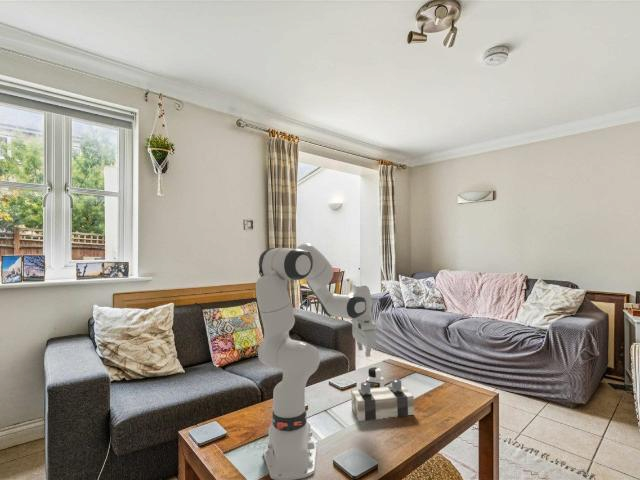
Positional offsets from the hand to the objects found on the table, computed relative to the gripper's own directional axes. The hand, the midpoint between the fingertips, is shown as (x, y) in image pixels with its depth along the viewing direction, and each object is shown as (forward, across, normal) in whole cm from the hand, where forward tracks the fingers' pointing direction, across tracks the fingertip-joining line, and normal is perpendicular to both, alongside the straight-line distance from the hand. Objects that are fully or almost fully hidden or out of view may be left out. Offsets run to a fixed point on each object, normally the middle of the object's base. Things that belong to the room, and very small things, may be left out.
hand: (363, 353), depth 150 cm
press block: (+25, +3, +6) cm, 26 cm away
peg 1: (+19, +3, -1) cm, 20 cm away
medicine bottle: (+26, -15, +10) cm, 32 cm away
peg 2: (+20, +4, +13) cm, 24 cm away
